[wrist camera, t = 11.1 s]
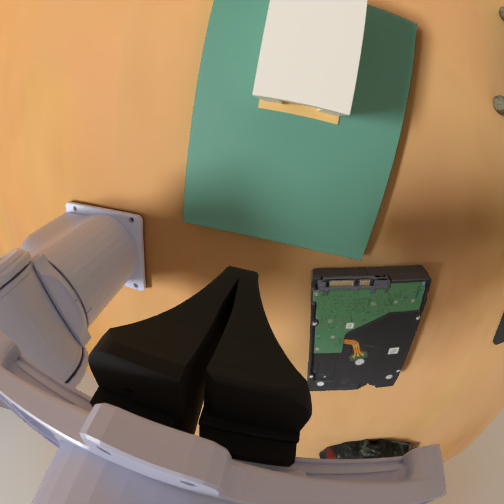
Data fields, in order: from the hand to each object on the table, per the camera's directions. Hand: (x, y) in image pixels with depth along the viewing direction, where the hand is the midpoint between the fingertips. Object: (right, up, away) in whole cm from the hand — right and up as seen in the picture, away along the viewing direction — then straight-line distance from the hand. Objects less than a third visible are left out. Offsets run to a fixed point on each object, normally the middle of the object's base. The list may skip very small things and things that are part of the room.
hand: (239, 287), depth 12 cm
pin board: (+4, +11, +4) cm, 12 cm away
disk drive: (+11, -6, +13) cm, 18 cm away
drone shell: (+25, -40, +28) cm, 55 cm away
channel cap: (+4, +14, +1) cm, 15 cm away
